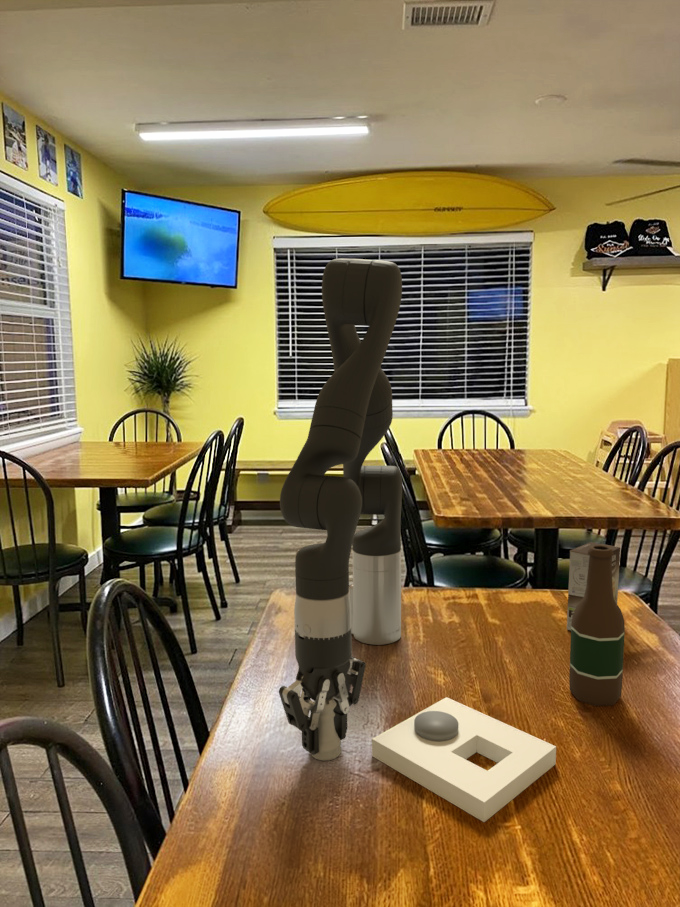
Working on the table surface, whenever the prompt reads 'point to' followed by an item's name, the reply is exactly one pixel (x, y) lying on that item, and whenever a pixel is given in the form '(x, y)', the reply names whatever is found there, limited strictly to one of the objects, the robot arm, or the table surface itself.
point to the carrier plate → (464, 756)
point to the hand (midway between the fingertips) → (325, 743)
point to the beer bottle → (597, 636)
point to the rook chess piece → (328, 733)
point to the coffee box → (579, 576)
